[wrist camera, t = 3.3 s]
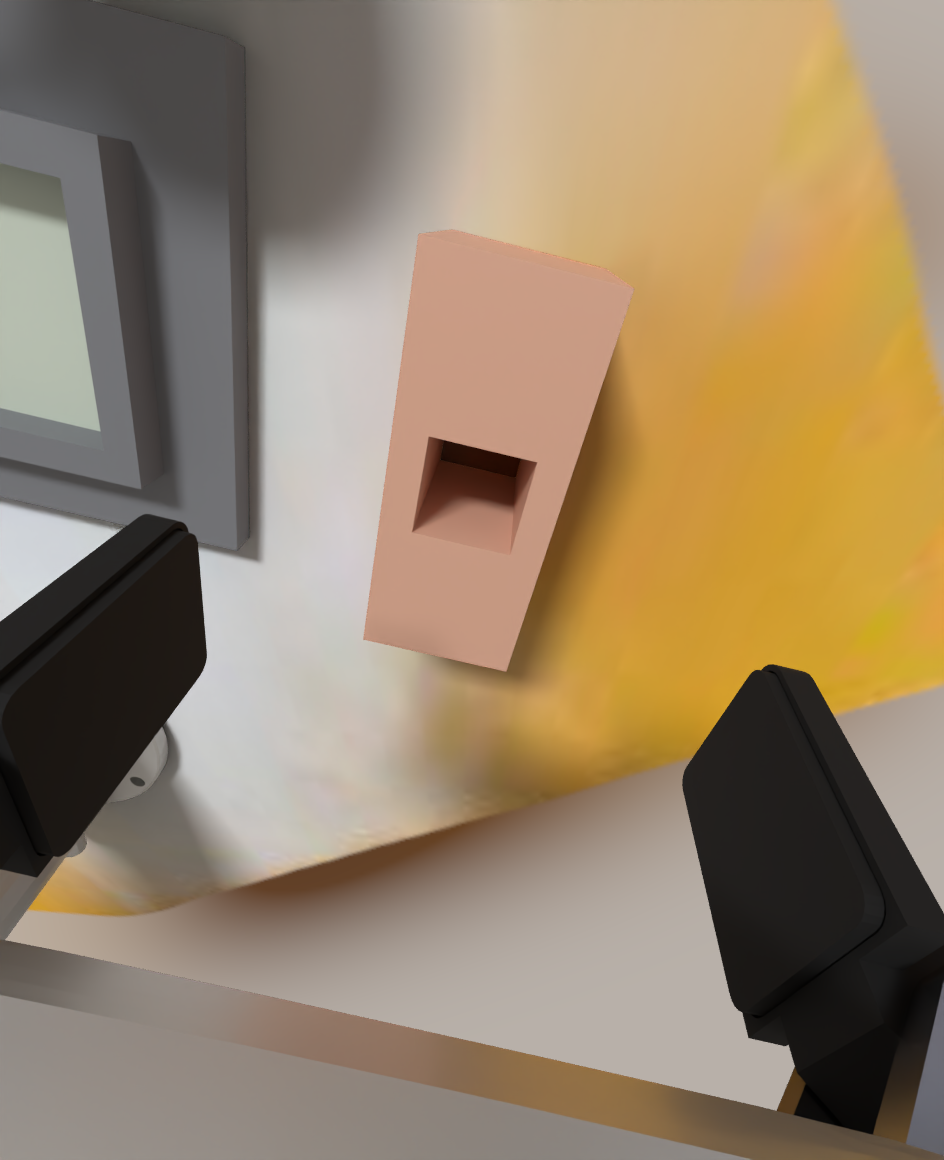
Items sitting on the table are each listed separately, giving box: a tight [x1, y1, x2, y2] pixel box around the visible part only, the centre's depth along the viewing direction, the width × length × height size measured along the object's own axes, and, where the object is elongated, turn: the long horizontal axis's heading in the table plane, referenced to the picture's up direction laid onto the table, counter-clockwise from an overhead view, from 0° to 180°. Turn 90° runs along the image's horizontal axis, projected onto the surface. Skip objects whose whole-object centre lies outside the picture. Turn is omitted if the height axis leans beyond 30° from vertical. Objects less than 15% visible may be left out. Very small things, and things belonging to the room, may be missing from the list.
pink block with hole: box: [363, 230, 634, 672], centre depth 18 cm, size 12×5×6 cm, turn 168°
